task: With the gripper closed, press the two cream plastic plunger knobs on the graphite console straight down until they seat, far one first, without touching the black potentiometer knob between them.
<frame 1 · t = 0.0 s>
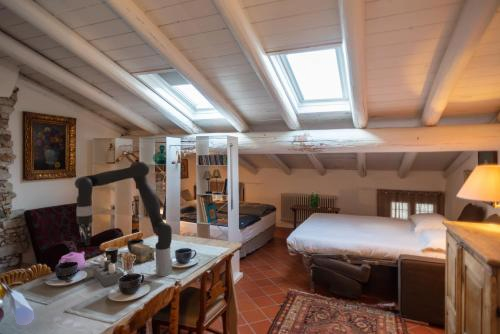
hand: (85, 243, 166), 29 cm above the table, fingers open, 8 cm apart
coffee mug: (110, 262, 219), on the table
knob b: (111, 269, 184), point 8 cm above the table, slide at 0.0 cm
console: (108, 279, 190), on the table
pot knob: (107, 265, 189), point 8 cm above the table, slide at 0.0 cm
knob a: (103, 262, 195), point 8 cm above the table, slide at 0.0 cm
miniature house: (143, 260, 223), on the table
teapot: (72, 271, 202), on the table
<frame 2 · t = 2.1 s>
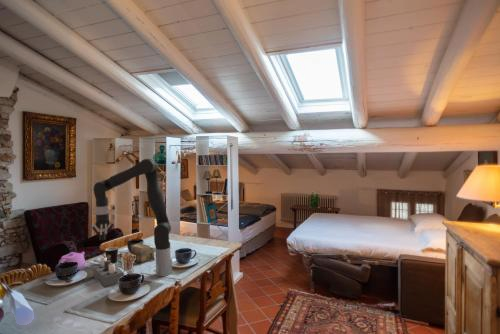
hand: (103, 239, 194), 23 cm above the table, fingers closed
nothing on the table moved.
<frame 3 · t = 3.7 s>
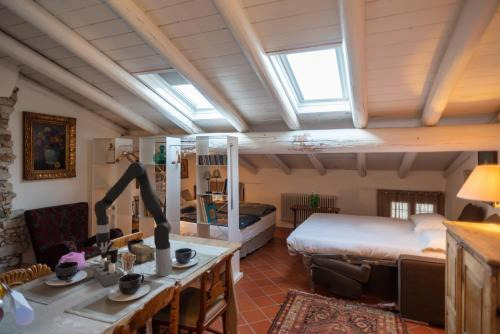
hand: (103, 257, 195), 11 cm above the table, fingers closed
knob a: (103, 262, 195), point 8 cm above the table, slide at 0.2 cm, touching gripper
everything else where it was.
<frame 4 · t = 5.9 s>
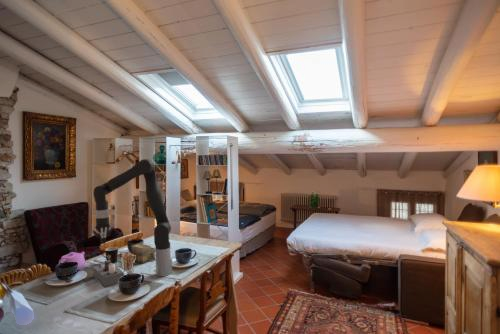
hand: (103, 243, 194), 21 cm above the table, fingers closed
knob a: (104, 268, 195), point 4 cm above the table, slide at 4.0 cm
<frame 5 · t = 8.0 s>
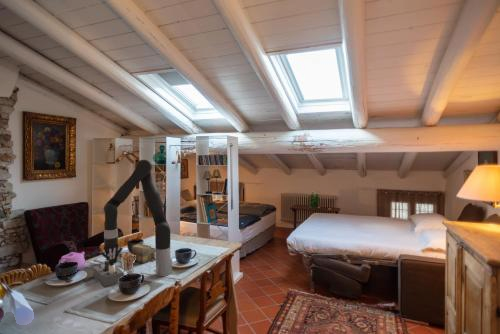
hand: (111, 264, 184), 11 cm above the table, fingers closed
knob b: (111, 270, 184), point 8 cm above the table, slide at 0.5 cm, touching gripper
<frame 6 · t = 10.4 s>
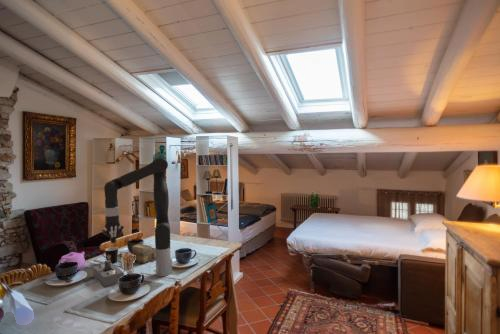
hand: (113, 242, 184), 24 cm above the table, fingers closed
knob b: (112, 275, 184), point 4 cm above the table, slide at 4.1 cm
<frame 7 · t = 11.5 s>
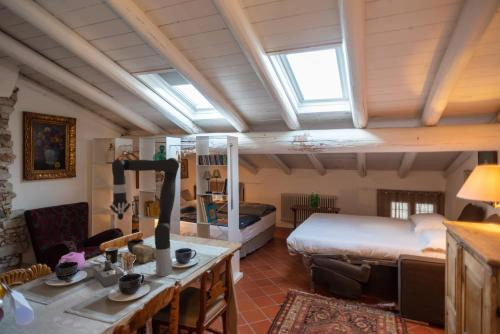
hand: (120, 219, 190), 37 cm above the table, fingers closed
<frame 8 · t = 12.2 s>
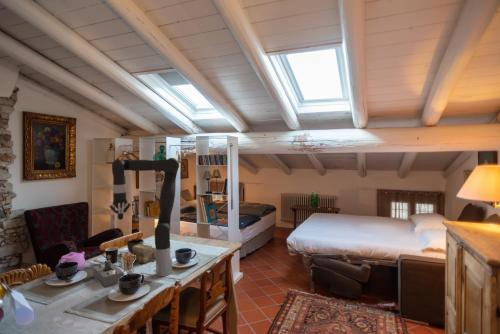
hand: (120, 219, 190), 37 cm above the table, fingers closed
at the end: knob a slide at 4.0 cm; knob b slide at 4.1 cm; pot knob slide at 0.0 cm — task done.
